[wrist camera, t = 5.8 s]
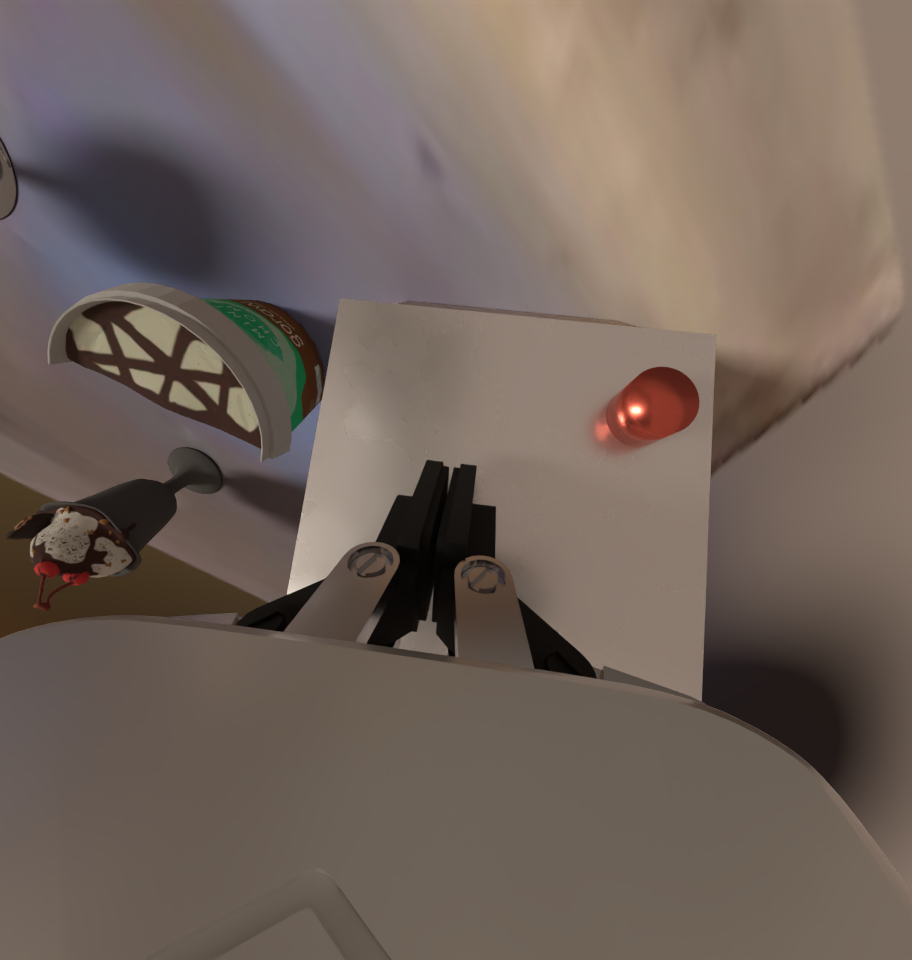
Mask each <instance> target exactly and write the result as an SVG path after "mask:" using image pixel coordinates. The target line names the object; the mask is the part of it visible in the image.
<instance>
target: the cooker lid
mask: <svg viewBox="0 0 912 960" xmlns="http://www.w3.org/2000/svg"><path fill="white" fill-rule="evenodd" d="M715 353H716V335H712V334H702V333H692V332H682V331H671V330H661V329H651V328H640V327H630V326H620V325H609V324H599V323H589V322H579V321H568V320H558V319H548V318H537V317H527V316H517V315H506V314H496V313H486V312H476V311H465V310H455V309H445V308H434V307H424V306H414V305H403V304H393V303H383V302H373V301H362V300H352V299H342V298H340V301H339V307H338V313H337V318H336V324H335V329H334V335H333V340H332V346H331V352H330V357H329V363H328V368H327V374H326V380H325V385H324V391H323V396H322V402H321V407H320V413H319V419H318V424H317V430H316V435H315V441H314V446H313V452H312V458H311V463H310V469H309V474H308V480H307V486H306V491H305V497H304V502H303V508H302V513H301V519H300V525H299V530H298V536H297V541H296V547H295V552H294V558H293V564H292V569H291V575H290V580H289V586H288V592H287V595H288V594H290V593H293V592H295V591H297V590H300V589H302V588H304V587H307V586H309V585H311V584H313V583H316V582H318V581H320V580H323V579H325V578H326V577H327V576H328V575H329V574H330V572H331V571H332V570H333V568H334V567H335V566H336V565H337V563H338V562H339V561H340V560H341V558H342V557H343V556H344V555H345V554H346V553H347V552H348V551H349V550H350V549H351V548H353V547H355V546H357V545H359V544H363V543H367V542H376V539H377V537H378V535H379V533H380V531H381V529H382V527H383V524H384V522H385V520H386V518H387V516H388V514H389V512H390V509H391V507H392V505H393V503H394V501H395V499H396V497H397V495H406V496H413V493H414V491H415V488H416V486H417V483H418V481H419V478H420V476H421V473H422V470H423V468H424V465H425V463H426V461H427V460H433V461H442V462H443V464H444V466H448V467H449V479H448V490H449V486H450V481H451V477H452V473H453V469H454V467H457V468H460V465H461V464H468V465H477V470H476V478H475V487H474V495H473V504H481V505H489V506H496V542H495V559H497V560H499V561H500V562H502V563H503V564H505V566H506V567H507V568H508V569H509V570H510V572H511V575H512V577H513V582H514V586H515V590H516V594H517V597H518V598H519V599H520V600H521V601H523V602H524V603H525V604H526V605H527V606H528V607H529V608H530V609H532V610H533V611H534V612H535V613H536V614H537V615H538V616H540V617H541V618H542V619H543V620H544V621H545V622H546V623H547V624H549V625H550V626H551V627H552V628H553V629H554V630H555V631H557V632H558V633H559V634H560V635H561V636H562V637H563V638H564V639H566V640H567V641H568V642H569V643H570V644H571V645H572V646H574V647H575V648H576V649H577V650H578V651H579V652H580V653H582V654H583V656H584V657H585V658H586V659H587V660H588V661H589V662H590V664H591V665H592V667H595V668H598V669H601V670H602V668H603V666H607V667H610V668H612V669H615V670H618V671H621V672H624V673H627V674H629V675H632V676H635V677H638V678H641V679H643V680H646V681H649V682H652V683H655V684H658V685H660V686H663V687H666V688H669V689H672V690H674V691H677V692H680V693H683V694H686V695H689V696H691V697H693V698H695V699H697V700H699V701H702V676H703V651H704V626H705V600H706V577H707V552H708V551H707V550H708V527H709V526H708V525H709V502H710V477H711V452H712V428H713V403H714V378H715ZM447 494H448V493H447ZM433 589H434V587H433ZM432 606H433V592H432V597H431V602H430V606H429V611H428V616H427V620H426V621H421V620H420V621H419V625H418V629H417V632H413V631H411V632H410V633H408V634H407V635H405V636H403V637H402V638H401V642H400V646H399V649H405V650H412V651H419V652H426V653H433V654H440V655H447V647H446V646H445V644H444V643H443V642H442V641H441V640H440V638H439V637H438V636H437V635H436V626H437V623H436V622H432Z"/></svg>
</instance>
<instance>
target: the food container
mask: <svg viewBox="0 0 912 960" xmlns="http://www.w3.org/2000/svg"><path fill="white" fill-rule="evenodd" d="M47 351H48V364H57V363H64V362H71V361H73V362H76V363H78V364H80V365H81V366H83V367H85V368H88V369H91V370H94V371H96V372H99V373H101V374H103V375H105V376H107V377H109V378H111V379H114V380H116V381H118V382H120V383H122V384H124V385H126V386H127V387H129V388H131V389H132V390H134V391H136V392H137V393H139V394H141V395H142V396H144V397H146V398H147V399H149V400H151V401H153V402H154V403H156V404H158V405H160V406H162V407H163V408H165V409H168V410H170V411H173V412H175V413H178V414H180V415H183V416H185V417H188V418H191V419H194V420H196V421H199V422H202V423H205V424H207V425H210V426H213V427H215V428H218V429H220V430H222V431H224V432H227V433H229V434H231V435H233V436H235V437H237V438H240V439H242V440H244V441H246V442H248V443H250V444H252V445H254V446H256V447H259V448H261V449H262V450H261V458H260V462H262V461H264V460H265V459H267V458H268V457H269V458H271V459H273V458H275V457H277V456H280V455H282V454H284V453H286V452H288V451H289V450H290V443H291V432H292V431H293V430H294V429H295V428H296V427H297V426H298V425H299V424H300V423H301V422H302V420H303V419H304V418H305V417H306V416H307V415H308V414H309V413H310V412H311V411H312V410H313V409H314V408H315V407H316V405H317V404H318V403H319V402H320V401H321V400H322V396H323V391H324V385H325V379H324V367H323V363H322V361H321V358H320V355H319V353H318V350H317V347H316V345H315V344H314V342H313V341H312V339H311V338H310V336H309V335H308V334H307V332H306V331H305V329H304V328H303V326H302V325H300V324H299V323H298V322H297V321H296V320H295V319H294V318H293V317H291V316H290V315H289V314H288V313H286V312H285V311H283V310H281V309H280V308H278V307H276V306H273V305H271V304H269V303H265V302H261V301H255V300H234V299H200V298H197V297H195V296H192V295H190V294H188V293H185V292H183V291H181V290H179V289H175V288H171V287H168V286H164V285H160V284H152V283H141V282H139V283H130V284H122V285H119V286H116V287H113V288H110V289H107V290H104V291H101V292H98V293H95V294H92V295H90V296H87V297H85V298H83V299H82V300H80V301H79V302H77V303H76V304H74V305H73V306H72V307H71V308H70V309H68V310H67V311H65V312H64V313H63V314H62V315H61V316H60V318H59V319H58V320H57V321H56V323H55V325H54V327H53V329H52V331H51V334H50V337H49V343H48V349H47Z"/></svg>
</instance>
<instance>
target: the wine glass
mask: <svg viewBox="0 0 912 960" xmlns="http://www.w3.org/2000/svg"><path fill="white" fill-rule="evenodd" d="M16 197H17V185H16V178H15V174H14V170H13V167H12V164H11V161H10V158H9V156H8V154H7V152H6V149H5V147H4V145H3V143H2V141H1V140H0V219H3V218H5V217H6V216H8V215H9V214H10V213H11V211H12V210H13V209H14V206H15V203H16Z"/></svg>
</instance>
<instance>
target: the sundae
mask: <svg viewBox="0 0 912 960" xmlns="http://www.w3.org/2000/svg"><path fill="white" fill-rule="evenodd" d="M168 465H169V468H170V470H171V472H172V474H173V475H174V477H172V478H171V479H170V480H168V481H166V482H165V483H161V482H158V481H153V480H147V479H136V480H132V481H129V482H126V483H123V484H119V485H117V486H114V487H112V488H109V489H107V490H105V491H102V492H100V493H97V494H95V495H92V496H90V497H87V498H84V499H81V500H79V501H76V502H50V503H46V504H44V505H43V506H42V507H41V511H38V512H37V513H36V515H32V516H29V517H27V518H25V519H24V520H22V521H21V522H20V523H19V524H17V525H16V527H14V528H13V530H12V531H10V532H9V533H8V534H6V535H5V539H33V540H32V542H31V548H30V559H31V561H32V562H33V564H34V565H35V568H34V570H35V572H36V573H37V575H38V576H40V577H41V583H40V591H39V596H38V603H37V604H35V605H34V608H40V609H42V610H44V611H48V610H49V609H50V607H51V606H50V605H49V599H50V597H51V596H52V595H53V594H55V593H56V592H58V591H59V590H61V589H63V588H65V587H67V586H69V585H80V584H84V583H85V582H87V580H88V579H89V577H104V576H114V577H118V576H124V575H127V574H128V573H131V572H132V571H134V570H135V569H136V568H137V567H138V566H139V565H140V564H141V557H140V555H139V552H140V551H141V550H142V549H143V547H144V546H145V545H146V544H147V543H148V542H149V541H150V540H151V539H152V538H153V537H154V536H155V535H156V534H157V533H158V532H159V531H160V530H161V529H162V528H163V527H164V526H165V525H166V524H167V523H168V522H169V520H170V519H171V518H172V517H173V516H174V514H175V513H176V510H177V501H176V498H175V493H176V492H178V491H179V490H180V489H182V488H184V487H186V488H187V489H189V490H191V491H193V492H197V493H202V494H209V493H213V492H215V491H217V490H218V489H219V487H220V485H221V475H220V472H219V470H218V468H217V466H216V465H215V464H214V462H213V461H212V460H211V459H210V458H209V457H207V456H206V455H204V454H203V453H201V452H199V451H197V450H194V449H191V448H186V447H184V448H177V449H175V450H173V451H172V452H171V453H170V455H169V458H168ZM54 576H63V579H64V581H66V582H67V584H65V585H62V586H61V587H59V588H57V589H56V590H54V591H53V592H52V593H51V594H50V595H49V596H48V597H47V599H46V603H41V595H42V592H43V586H44V581H45V578H51V577H54Z"/></svg>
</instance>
